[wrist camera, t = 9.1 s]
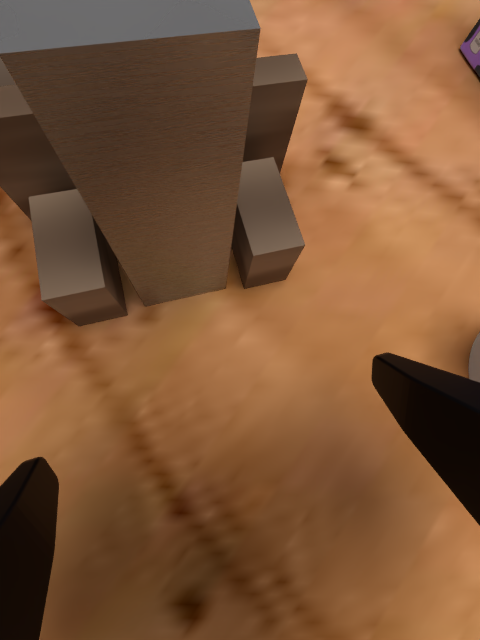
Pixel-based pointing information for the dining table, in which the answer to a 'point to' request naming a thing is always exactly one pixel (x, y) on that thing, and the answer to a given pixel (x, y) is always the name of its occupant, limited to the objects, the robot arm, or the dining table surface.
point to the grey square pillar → (144, 123)
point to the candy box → (473, 48)
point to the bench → (87, 238)
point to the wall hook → (475, 360)
